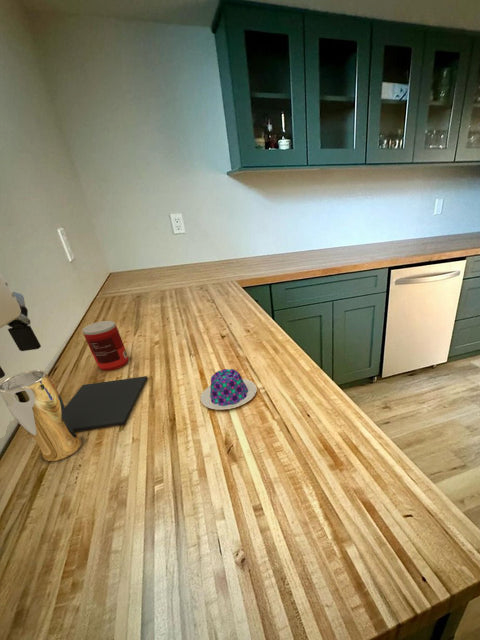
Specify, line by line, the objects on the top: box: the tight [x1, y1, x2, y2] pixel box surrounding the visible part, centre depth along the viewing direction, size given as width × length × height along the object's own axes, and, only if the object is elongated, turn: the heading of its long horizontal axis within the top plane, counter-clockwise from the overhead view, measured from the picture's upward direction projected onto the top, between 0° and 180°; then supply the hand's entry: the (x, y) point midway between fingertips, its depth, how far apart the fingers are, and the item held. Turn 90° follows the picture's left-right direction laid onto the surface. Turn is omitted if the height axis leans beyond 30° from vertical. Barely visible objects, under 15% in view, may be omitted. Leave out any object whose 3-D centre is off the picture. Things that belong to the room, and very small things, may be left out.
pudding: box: [200, 368, 258, 411], centre depth 71 cm, size 12×12×5 cm
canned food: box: [82, 320, 129, 372], centre depth 88 cm, size 8×8×11 cm
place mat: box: [64, 375, 148, 433], centre depth 74 cm, size 15×18×1 cm
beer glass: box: [0, 369, 82, 462], centre depth 58 cm, size 7×7×15 cm
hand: (13, 362), depth 52 cm, fingers open, 9 cm apart
